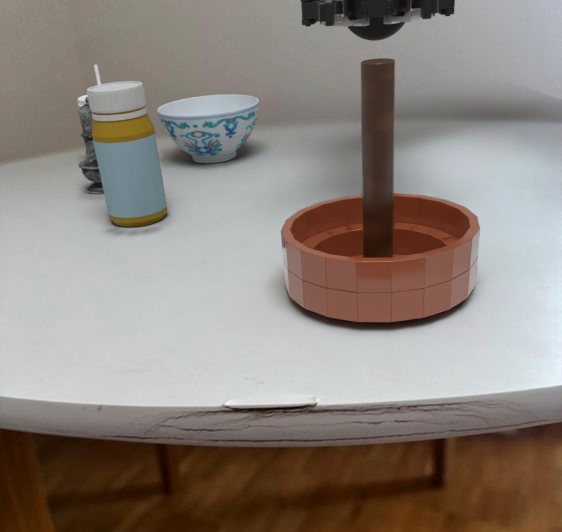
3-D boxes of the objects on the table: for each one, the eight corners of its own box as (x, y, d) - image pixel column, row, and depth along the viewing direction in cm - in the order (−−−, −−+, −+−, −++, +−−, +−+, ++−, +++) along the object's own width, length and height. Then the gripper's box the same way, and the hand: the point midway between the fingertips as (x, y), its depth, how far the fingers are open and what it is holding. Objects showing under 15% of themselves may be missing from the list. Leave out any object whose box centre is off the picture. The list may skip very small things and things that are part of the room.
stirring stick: (396, 265, 64) (399, 54, 55) (412, 286, 60) (418, 61, 51) (345, 272, 64) (339, 60, 54) (358, 293, 60) (354, 68, 50)
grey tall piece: (114, 179, 100) (96, 90, 94) (134, 186, 96) (117, 94, 90) (76, 189, 97) (55, 98, 91) (95, 197, 93) (75, 103, 87)
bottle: (104, 216, 86) (75, 87, 78) (157, 204, 88) (135, 78, 80) (119, 232, 80) (91, 95, 72) (176, 219, 83) (155, 85, 75)
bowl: (435, 243, 70) (438, 184, 67) (506, 315, 56) (513, 245, 53) (274, 264, 69) (269, 205, 66) (305, 343, 55) (300, 273, 52)
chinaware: (226, 174, 97) (219, 117, 93) (145, 166, 105) (136, 113, 101) (281, 148, 108) (277, 95, 104) (205, 142, 115) (198, 93, 111)
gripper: (442, 31, 75) (458, 50, 61) (311, 40, 77) (299, 61, 63) (445, -50, 71) (464, -49, 58) (307, -38, 73) (293, -34, 59)
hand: (377, 9), depth 60 cm, fingers open, 8 cm apart
